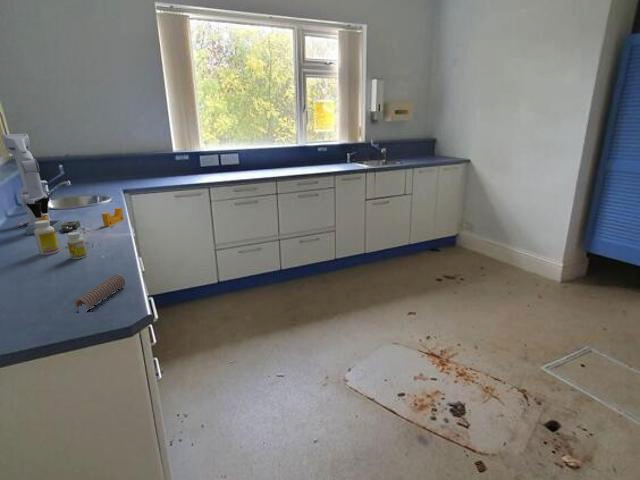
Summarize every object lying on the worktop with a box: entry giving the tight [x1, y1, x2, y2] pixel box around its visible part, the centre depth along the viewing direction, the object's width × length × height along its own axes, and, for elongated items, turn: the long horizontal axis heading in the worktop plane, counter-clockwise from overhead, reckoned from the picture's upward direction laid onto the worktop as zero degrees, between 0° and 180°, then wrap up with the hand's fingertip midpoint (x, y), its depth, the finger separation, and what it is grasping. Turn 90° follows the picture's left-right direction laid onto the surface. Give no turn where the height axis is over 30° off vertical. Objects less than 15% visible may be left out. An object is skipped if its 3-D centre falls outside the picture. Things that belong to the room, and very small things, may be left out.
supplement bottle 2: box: [66, 231, 88, 260], centre depth 147 cm, size 5×5×10 cm
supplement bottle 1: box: [33, 220, 60, 256], centre depth 152 cm, size 7×7×13 cm
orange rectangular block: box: [38, 215, 50, 221], centre depth 182 cm, size 3×3×6 cm
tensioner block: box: [61, 220, 81, 234], centre depth 183 cm, size 11×6×3 cm, turn 15°
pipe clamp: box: [101, 207, 125, 227], centre depth 192 cm, size 12×4×6 cm, turn 173°
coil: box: [73, 273, 126, 309], centre depth 114 cm, size 5×5×18 cm
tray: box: [24, 219, 64, 236], centre depth 183 cm, size 11×11×3 cm
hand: (41, 215), depth 181 cm, fingers open, 7 cm apart
